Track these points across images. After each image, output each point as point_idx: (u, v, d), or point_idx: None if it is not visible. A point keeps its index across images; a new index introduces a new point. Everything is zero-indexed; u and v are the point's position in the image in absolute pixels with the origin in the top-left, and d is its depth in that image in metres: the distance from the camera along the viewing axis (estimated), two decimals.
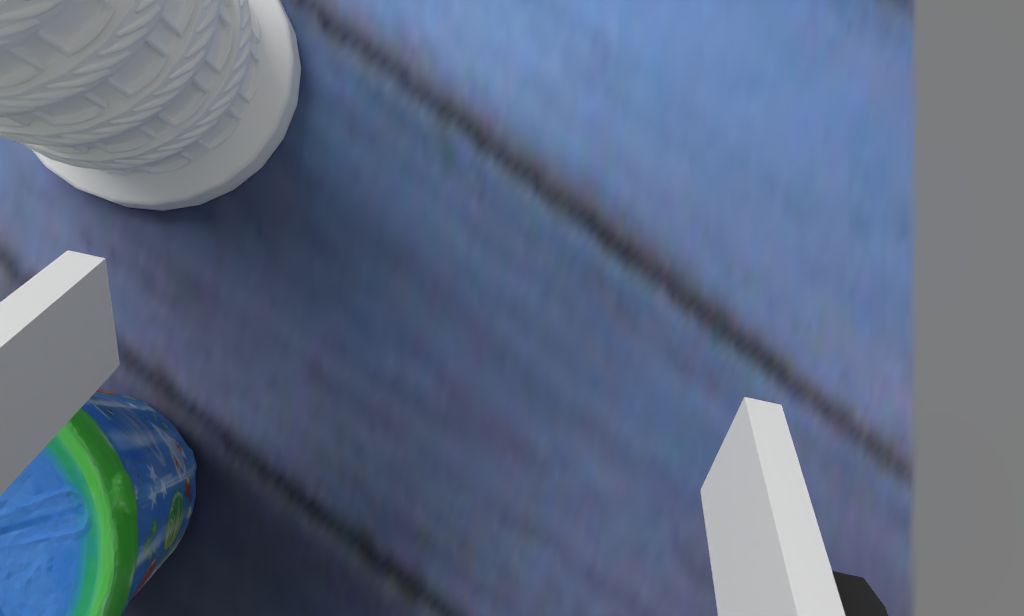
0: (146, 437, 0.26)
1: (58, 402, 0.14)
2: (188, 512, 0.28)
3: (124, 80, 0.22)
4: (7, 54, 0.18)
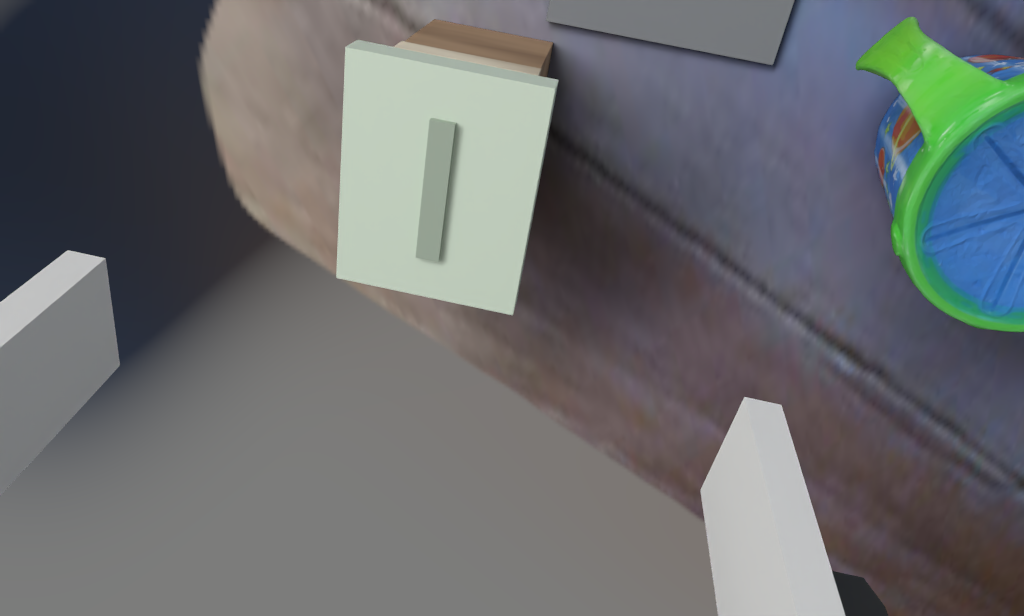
0: None
1: (58, 402, 0.14)
2: None
3: None
4: None
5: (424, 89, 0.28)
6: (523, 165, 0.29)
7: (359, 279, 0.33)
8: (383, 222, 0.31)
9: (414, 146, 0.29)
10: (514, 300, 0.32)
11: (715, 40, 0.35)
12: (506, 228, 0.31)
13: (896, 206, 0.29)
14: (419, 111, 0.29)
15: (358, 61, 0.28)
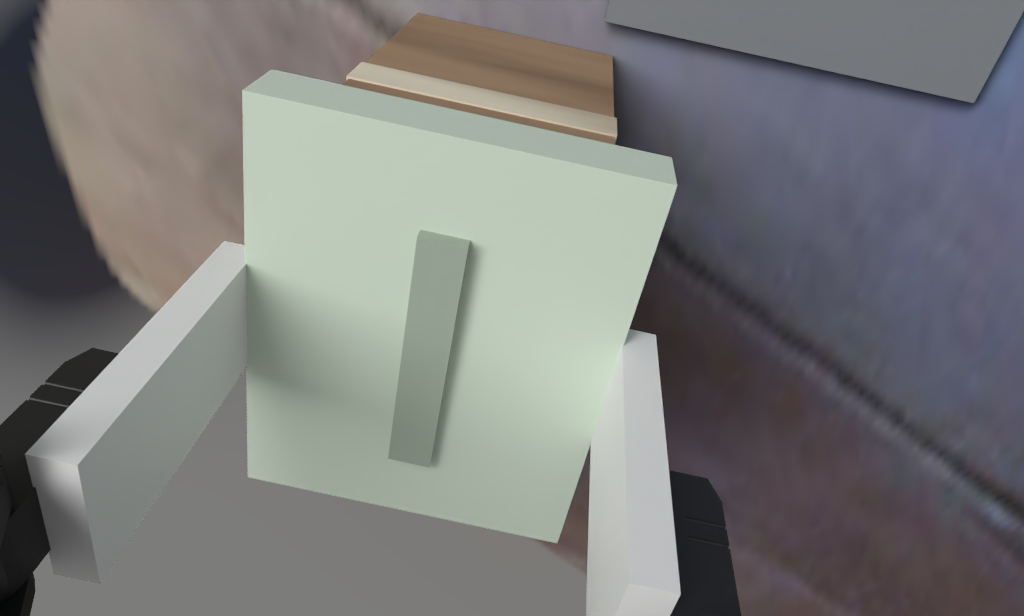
0: None
1: (221, 380, 0.15)
2: None
3: None
4: None
5: (407, 177, 0.14)
6: (597, 319, 0.15)
7: (288, 481, 0.19)
8: (329, 399, 0.17)
9: (386, 279, 0.15)
10: (561, 523, 0.18)
11: (884, 60, 0.21)
12: (556, 418, 0.17)
13: None
14: (396, 217, 0.14)
15: (270, 119, 0.14)
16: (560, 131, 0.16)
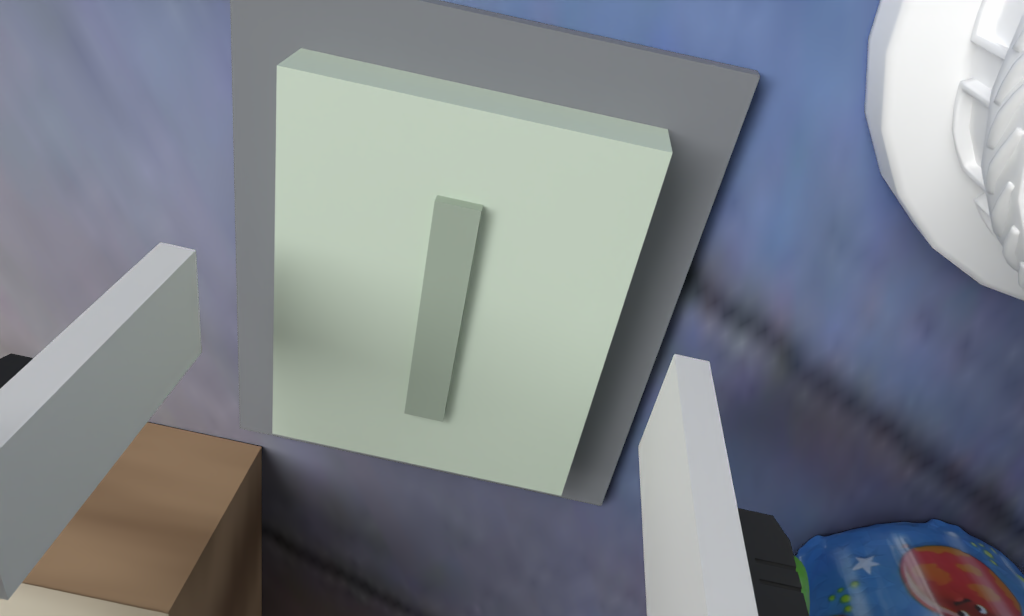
0: None
1: (155, 386, 0.15)
2: None
3: None
4: None
5: (426, 146, 0.15)
6: (599, 279, 0.16)
7: (310, 437, 0.20)
8: (350, 357, 0.18)
9: (405, 241, 0.16)
10: (565, 476, 0.20)
11: None
12: (561, 374, 0.18)
13: None
14: (415, 183, 0.16)
15: (302, 92, 0.15)
16: None
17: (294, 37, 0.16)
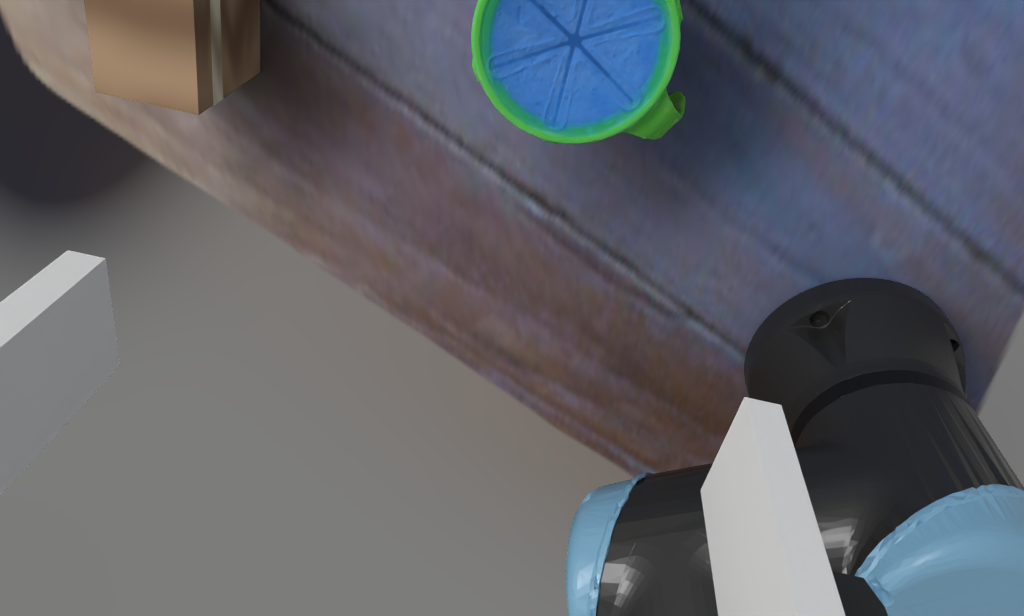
0: None
1: (58, 402, 0.14)
2: None
3: None
4: None
5: None
6: None
7: None
8: None
9: None
10: None
11: None
12: None
13: None
14: None
15: None
16: None
17: None
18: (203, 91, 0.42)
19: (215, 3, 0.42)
